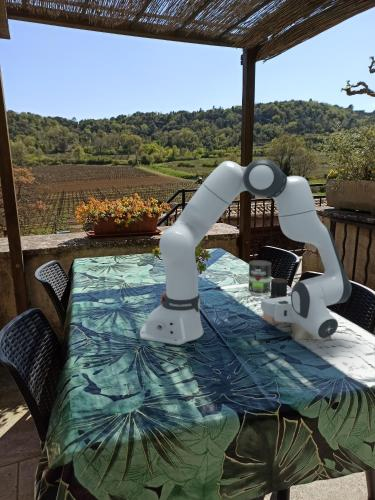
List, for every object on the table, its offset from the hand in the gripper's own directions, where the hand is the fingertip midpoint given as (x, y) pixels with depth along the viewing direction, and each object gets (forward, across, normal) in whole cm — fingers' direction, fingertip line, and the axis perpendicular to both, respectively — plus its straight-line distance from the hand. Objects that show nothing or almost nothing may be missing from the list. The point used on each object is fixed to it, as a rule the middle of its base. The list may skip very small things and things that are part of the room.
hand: (278, 296), depth 130 cm
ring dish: (0, 0, +8) cm, 9 cm away
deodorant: (0, 0, +9) cm, 9 cm away
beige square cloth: (-14, -4, +8) cm, 17 cm away
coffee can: (+30, -7, +9) cm, 32 cm away
